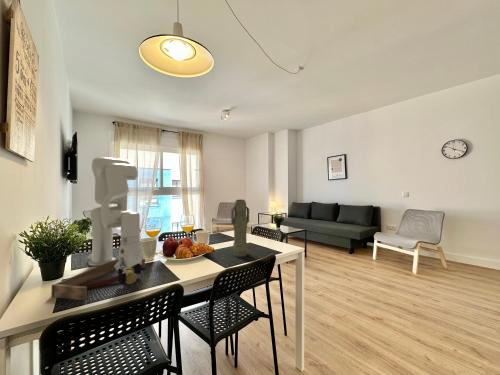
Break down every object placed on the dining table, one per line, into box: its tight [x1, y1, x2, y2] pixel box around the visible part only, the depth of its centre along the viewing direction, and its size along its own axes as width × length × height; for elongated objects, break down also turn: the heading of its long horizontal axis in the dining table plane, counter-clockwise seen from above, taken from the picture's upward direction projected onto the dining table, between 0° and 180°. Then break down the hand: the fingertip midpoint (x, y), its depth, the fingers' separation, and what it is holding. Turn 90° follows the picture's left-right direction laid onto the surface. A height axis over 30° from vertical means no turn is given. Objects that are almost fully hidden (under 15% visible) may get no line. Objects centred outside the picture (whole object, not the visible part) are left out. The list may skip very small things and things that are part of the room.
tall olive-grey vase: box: [230, 199, 250, 258], centre depth 138 cm, size 9×12×35 cm
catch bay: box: [50, 257, 146, 301], centre depth 100 cm, size 15×35×4 cm, turn 170°
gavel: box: [82, 267, 138, 291], centre depth 94 cm, size 21×5×10 cm
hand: (130, 277), depth 97 cm, fingers open, 9 cm apart
